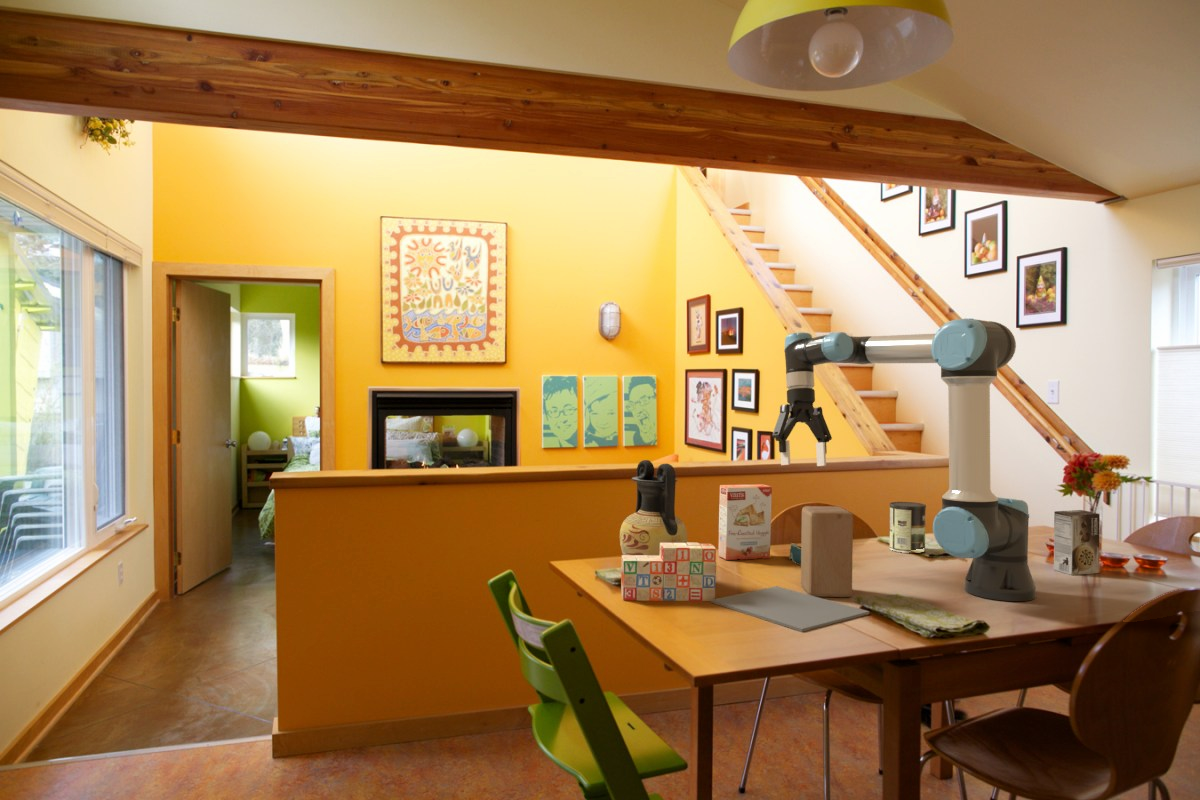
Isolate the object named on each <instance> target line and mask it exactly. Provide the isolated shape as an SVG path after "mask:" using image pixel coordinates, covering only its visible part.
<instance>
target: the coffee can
mask: <svg viewBox="0 0 1200 800" xmlns="http://www.w3.org/2000/svg"><path fill="white" fill-rule="evenodd" d="M926 508H927V505H926V504H925V503H920V502H914V501H913V502H912V501H911V502H910V501H893V502H889V548H888V549H889V550H890V551H892V550H893V551H892V552H894V551H896V552H895V553H900V552H902V553H901V554H909V552H911V550H916V549H923V548H925V549H926V510H927V509H926Z"/></svg>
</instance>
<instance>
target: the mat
mask: <svg viewBox="0 0 1200 800" xmlns="http://www.w3.org/2000/svg"><path fill="white" fill-rule="evenodd" d="M710 603H712V604H715V605H718V606H720V607H724V608H727V609H730V610H733V611H736V612H739V613H742V614H746V615H748V616H752V617H754V618H757V619H760V620H764V621H766V620H767V622H770V623H773V624H776V625H779V626H783V627H785V626H786V627H785V628H788V627H789V629H791V628H792V629H791V630H794V629H795V631H798V632H801V633H802V632H803V633H804V632H806V631H807V632H808V631H811V630H815V629H818V628H822V627H826V626H829V625H833V624H837V623H840V622H845V621H849V620H851V619H856V618H860V617H864V616H868V615H870V611H869V610H866V609H862V608H859V607H855V606H850V605H847V604H843V603H840V602H838V601H837V602H836V601H832V600H830V599H829V600H828V599H825V598H823V597H815V596H811V595H809V594H808V593H805V592H804V593H803V592H799V591H797V590H792V589H788V588H785V587H782V586H779V585H775V586H772V587H766V588H763V589H762V588H761V589H756V590H752V591H747V592H742V593H737V594H733V595H728V596H727V595H726V596H722V597H719V598H715V599H712V600H711V601H710Z"/></svg>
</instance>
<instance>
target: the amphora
mask: <svg viewBox="0 0 1200 800" xmlns="http://www.w3.org/2000/svg"><path fill="white" fill-rule="evenodd" d="M656 469H657V470H656V475H655V466H654V464H653V462H652V461H651V460H648V459H644V460H640V462H639V463H638V464H637V466H636V476H633V477H631V481H632V482H636V507H635V512H634V513H632V514H630V515H628V516H627V517H625V519H624V520H623V522H622V523H621V526H620V530H619V544H620V549H621V553H622V555H647V556H650V555H652V556H654V555H657V556H658V555H659V553H660V543H686V542H688V531H687V527H686V526H685V525H686V524H685V523H684V522H683V520H682V519H681V518H680V517H678V516H677V515H675V509H676V508H675V505H676V503H675V502H676V501H675V500H676V484H677V482H678V479H677V477H676V471H675V469H674V467H673V465H671V464H670V463H661V464H660V465H658V467H657V468H656Z"/></svg>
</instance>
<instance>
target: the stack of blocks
mask: <svg viewBox="0 0 1200 800" xmlns="http://www.w3.org/2000/svg"><path fill="white" fill-rule="evenodd" d="M716 560H717V548H716V547H715V546H714V545H713V544H712V543H711V542H710V543H708V542H707V543H703V542H702V543H701V542H689V541H687V542H686V543H660V553H659V555H658V556H657V555H654V556H652V555H650V556H647V555H623V554H621V570H620V571H621V572H620V576H621V577H620V580H621V581H620V585H621V587H620V589H621V590H620V591H621V592H620V594H621V599H622V601H644V602H645V601H648V602H649V601H650V602H651V601H657V602H658V601H659V602H660V601H661V602H663V601H664V602H666V601H667V602H669V601H671V602H672V601H674V602H675V601H676V602H677V601H679V602H680V601H683V602H685V601H689V602H690V601H692V602H693V601H694V602H695V601H696V602H697V601H704V602H706V601H707V602H708V601H709V602H711V600H712V599H716V580H717V579H716V578H717V577H716V575H717V561H716Z"/></svg>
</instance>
